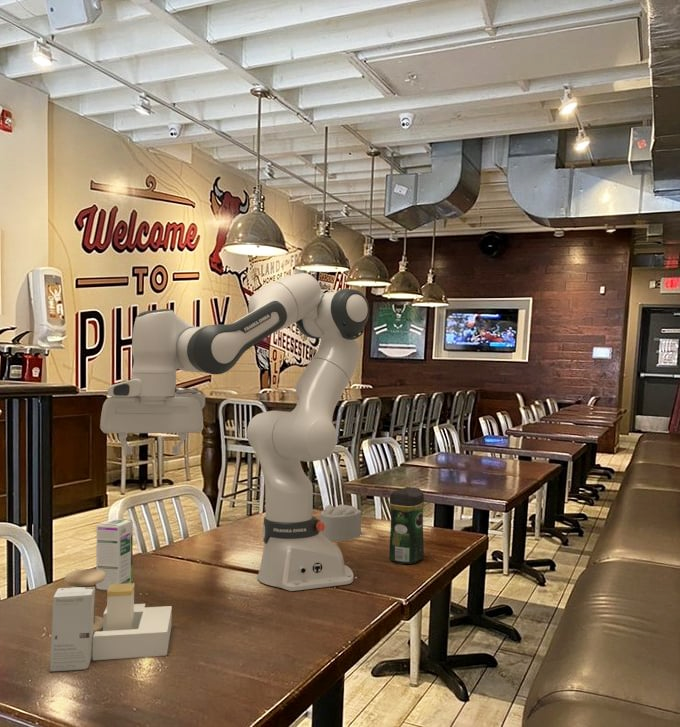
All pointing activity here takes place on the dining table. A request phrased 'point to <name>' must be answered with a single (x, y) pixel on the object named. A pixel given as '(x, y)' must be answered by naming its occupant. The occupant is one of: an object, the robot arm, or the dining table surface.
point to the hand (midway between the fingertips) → (152, 455)
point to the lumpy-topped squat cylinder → (341, 522)
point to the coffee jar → (406, 525)
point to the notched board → (136, 635)
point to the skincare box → (72, 628)
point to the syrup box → (115, 552)
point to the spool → (87, 580)
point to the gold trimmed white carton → (120, 607)
